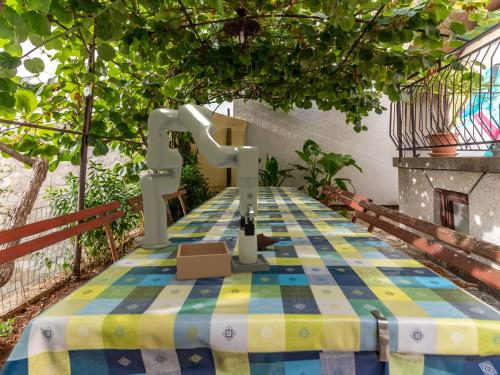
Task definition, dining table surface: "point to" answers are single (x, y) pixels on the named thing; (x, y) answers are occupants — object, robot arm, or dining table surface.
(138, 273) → the dining table surface
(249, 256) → the can
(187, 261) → the brown square frame
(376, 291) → the dining table surface
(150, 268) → the dining table surface
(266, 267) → the tray
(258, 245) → the icecream
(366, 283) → the dining table surface
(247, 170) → the robot arm
